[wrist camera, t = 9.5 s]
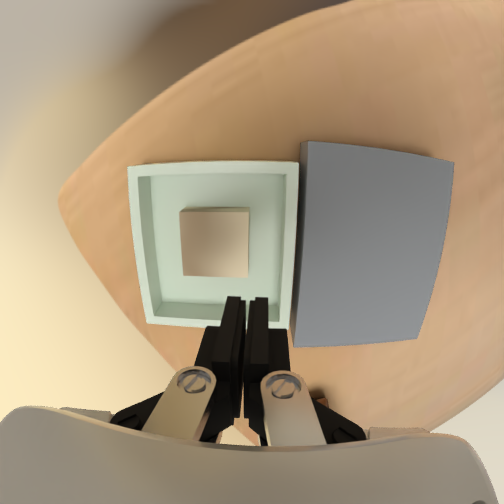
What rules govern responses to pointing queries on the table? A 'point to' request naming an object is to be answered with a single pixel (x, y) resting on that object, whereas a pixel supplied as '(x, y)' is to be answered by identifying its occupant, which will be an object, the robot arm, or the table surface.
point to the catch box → (213, 195)
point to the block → (215, 241)
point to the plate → (366, 243)
